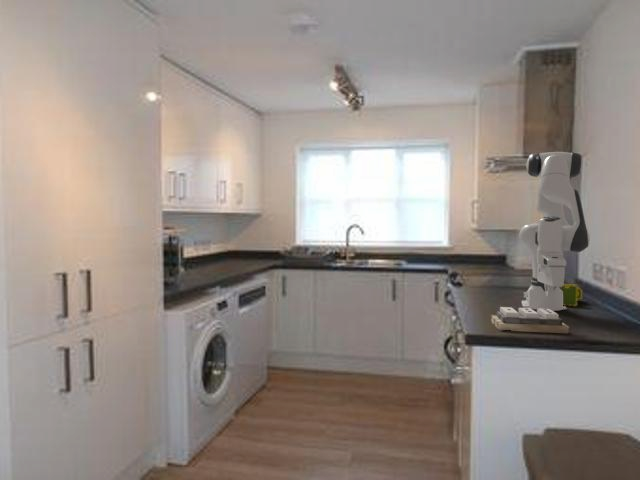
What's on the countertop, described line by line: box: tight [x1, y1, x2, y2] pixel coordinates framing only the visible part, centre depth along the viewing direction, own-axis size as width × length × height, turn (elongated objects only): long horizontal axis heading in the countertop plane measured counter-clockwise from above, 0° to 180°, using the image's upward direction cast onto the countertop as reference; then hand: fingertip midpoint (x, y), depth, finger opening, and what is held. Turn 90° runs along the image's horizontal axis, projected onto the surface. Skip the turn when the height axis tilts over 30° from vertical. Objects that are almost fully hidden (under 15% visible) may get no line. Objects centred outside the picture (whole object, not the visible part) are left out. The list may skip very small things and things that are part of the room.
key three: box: [536, 308, 559, 319], centre depth 187 cm, size 11×4×2 cm, turn 171°
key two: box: [517, 307, 538, 319], centre depth 188 cm, size 11×4×2 cm, turn 171°
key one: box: [499, 306, 519, 318], centre depth 189 cm, size 11×4×2 cm, turn 171°
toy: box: [559, 283, 583, 307], centre depth 249 cm, size 17×10×30 cm
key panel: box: [490, 310, 570, 334], centre depth 188 cm, size 16×24×4 cm, turn 81°
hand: (549, 296), depth 186 cm, fingers closed
